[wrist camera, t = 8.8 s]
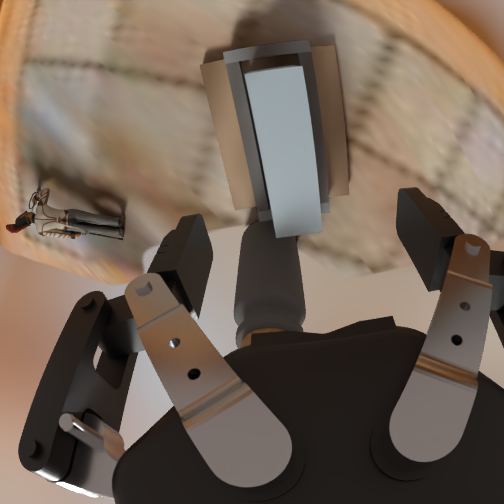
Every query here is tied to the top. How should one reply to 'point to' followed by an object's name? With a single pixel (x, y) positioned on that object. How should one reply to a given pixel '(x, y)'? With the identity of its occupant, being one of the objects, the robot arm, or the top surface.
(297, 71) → the door
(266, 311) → the bottle
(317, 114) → the grey piece
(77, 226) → the figurine
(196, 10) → the top surface
